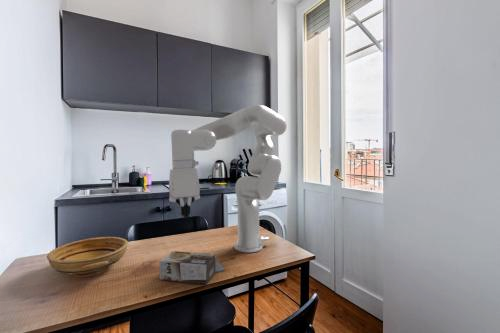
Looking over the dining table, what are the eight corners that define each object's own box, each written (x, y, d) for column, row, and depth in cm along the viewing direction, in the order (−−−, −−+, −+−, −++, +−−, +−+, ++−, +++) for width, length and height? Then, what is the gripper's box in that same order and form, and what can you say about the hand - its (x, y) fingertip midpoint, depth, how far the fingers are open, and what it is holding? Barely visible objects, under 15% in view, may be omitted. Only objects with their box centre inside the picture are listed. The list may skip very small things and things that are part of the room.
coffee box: (159, 280, 80) (206, 285, 77) (158, 260, 80) (206, 264, 77) (173, 268, 89) (216, 271, 86) (172, 250, 89) (216, 253, 86)
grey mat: (213, 256, 100) (213, 255, 100) (224, 270, 88) (224, 269, 88) (167, 264, 93) (167, 263, 93) (171, 281, 80) (171, 280, 80)
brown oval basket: (48, 264, 93) (47, 243, 93) (119, 249, 108) (119, 231, 108) (46, 300, 70) (45, 272, 69) (138, 274, 85) (137, 251, 84)
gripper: (202, 163, 94) (203, 211, 95) (160, 165, 88) (162, 216, 89) (207, 164, 87) (209, 216, 88) (162, 166, 81) (164, 222, 82)
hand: (185, 216), depth 88 cm, fingers closed
